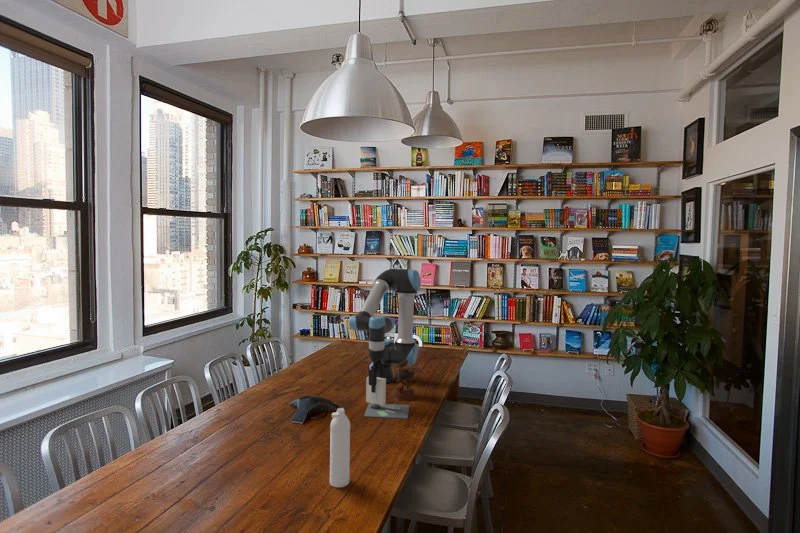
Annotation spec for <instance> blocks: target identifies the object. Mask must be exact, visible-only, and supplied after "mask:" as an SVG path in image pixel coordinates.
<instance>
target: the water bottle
mask: <svg viewBox="0 0 800 533" xmlns="http://www.w3.org/2000/svg"><path fill="white" fill-rule="evenodd" d="M345 411H346V410H345V409H344V407H338V408H337V410H336V412H335V411H334V412H332V413H331V417H332V419H331V422H330V425H329V429H330V434H329V435H330V437H329V439H330V440H329V441H330V442H329V445H330V446H329V453H330V454H329V484H330V486H332V487H334V488H345V487H347V486H348V485H349V484H350V466H351V463H350V461H351V458H350V456H351V452H350V451H351V442H350V441H351V422H350V419H349V418H348V417H347V415H346V413H345Z"/></svg>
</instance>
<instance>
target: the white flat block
mask: <svg viewBox="0 0 800 533" xmlns="http://www.w3.org/2000/svg"><path fill="white" fill-rule="evenodd" d="M376 385H377V399H372V398H371V385H369V375H368V376H367V377H366V381H365V387H366V388H365V390H366V391H365V402H366V403H368V404H369V403H371V407H372V408H380V406H381V407H386V408H391V409H395V407H394V406H389V405H384V404H387V403H386V400H387V398H386V396H387V395H386V394H387V390H386V388H387V383H386V379H385V378H379V377H377V381H376Z"/></svg>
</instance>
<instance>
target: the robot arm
mask: <svg viewBox="0 0 800 533" xmlns="http://www.w3.org/2000/svg"><path fill="white" fill-rule="evenodd" d="M421 283H422V282H421V276H420V273H419V271H418V270H417V269H412V268H411V269H410V268H409V269H408V268H389V269H386V270H384V271H383V272H381V273H380V274H379V275H377V277H376V278H375V280H374V281H373V283H372V288H371V290H370V291H369V293H368V295H367V297H366V299H365V301H364V303H363V304H362V306H361V308H360V310H359V311H358V314H357V315H356V314H355V315H351V316H350V317H349V320H348V326H349V329H350V330H352V331H357V332H368V336H369V337H368V358H370V364H369V365H367V369H368V376H369V385H371V398H372V399H377V385H376V381H377V377H379V378H385V379H386V384H391V383H393V382H394V381H395V379H396V378H395V373H394V369H393V365H392V364H394V365H398V364H399V363H400V362H402V361H404V360H408V363H407V365H406V366H414V364H416V361H417V358H418V355H419V346H418V345H417V344H416V340H415V339H414V312H415V311H414V310H415V309H414V306H415V296H416V295H417V294H418V291H420V290H421V285H422V284H421ZM390 290H396V294H397V296H398V314H397V315H398V319H397V338H395V340H394V341H393V340H392V339H389V338H386V337H385V336H386V334H387V333H389V332H391V331H392V330H393V329H394V327H395V320H394V319H393V318H392V317H390V316H381V315H376V316H375V314H376V311H377V310H378V307H379V305H380V304H381V302H382V300H383V298H384V296H385V294H386V293H388V292H389V291H390Z"/></svg>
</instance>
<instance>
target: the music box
mask: <svg viewBox="0 0 800 533" xmlns="http://www.w3.org/2000/svg"><path fill="white" fill-rule="evenodd" d="M407 363H408V360H404V361H402V362H400V363H399V364H396V365H394V368H398V369H397V370H396V371H395V372H396V373H395V374H396V377H397V379H396V383H397V385H396V387H395V389H394V391H393V398H394V399H396V400H398V401H411V400H414V398H415V390H414V389H413V388H411V387H409V385H410V383H412V380H411V379H412V378H414V376H415V371H414V369H412V368H409V367H408V365H407Z"/></svg>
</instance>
